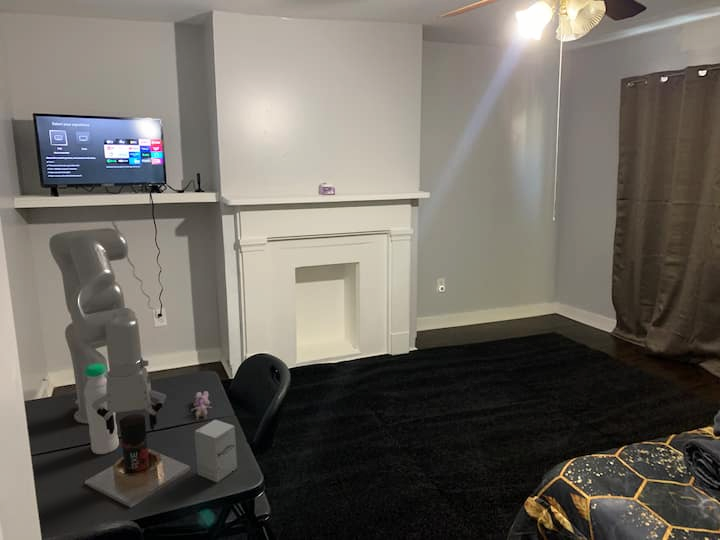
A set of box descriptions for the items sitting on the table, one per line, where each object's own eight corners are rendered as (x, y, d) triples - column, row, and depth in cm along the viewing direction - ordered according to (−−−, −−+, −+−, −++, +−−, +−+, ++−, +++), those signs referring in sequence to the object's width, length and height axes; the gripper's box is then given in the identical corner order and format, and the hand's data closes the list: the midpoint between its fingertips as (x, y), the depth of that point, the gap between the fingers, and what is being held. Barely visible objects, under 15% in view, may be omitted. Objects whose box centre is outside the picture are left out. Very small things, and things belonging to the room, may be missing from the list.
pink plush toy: (212, 422, 172) (212, 395, 185) (210, 406, 169) (211, 380, 183) (191, 425, 170) (193, 397, 184) (189, 409, 168) (191, 382, 181)
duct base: (85, 484, 138) (83, 470, 137) (146, 450, 153) (144, 437, 152) (130, 507, 129) (129, 492, 128) (190, 469, 144) (189, 456, 143)
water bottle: (86, 452, 153) (74, 369, 147) (105, 440, 159) (95, 359, 154) (105, 457, 150) (94, 372, 145) (124, 444, 157) (114, 362, 151)
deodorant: (128, 482, 137) (122, 427, 134) (123, 471, 142) (117, 418, 139) (152, 474, 140) (147, 421, 137) (147, 464, 145) (141, 412, 142)
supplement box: (217, 483, 138) (213, 438, 135) (197, 474, 142) (193, 430, 139) (238, 469, 144) (235, 425, 141) (218, 461, 148) (214, 418, 145)
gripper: (164, 357, 140) (170, 418, 144) (91, 363, 136) (99, 425, 140) (161, 369, 133) (167, 432, 137) (84, 376, 129) (92, 441, 133)
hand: (132, 429), depth 139 cm, fingers open, 9 cm apart
